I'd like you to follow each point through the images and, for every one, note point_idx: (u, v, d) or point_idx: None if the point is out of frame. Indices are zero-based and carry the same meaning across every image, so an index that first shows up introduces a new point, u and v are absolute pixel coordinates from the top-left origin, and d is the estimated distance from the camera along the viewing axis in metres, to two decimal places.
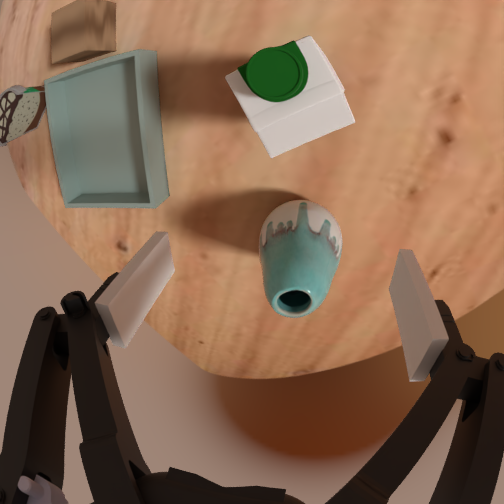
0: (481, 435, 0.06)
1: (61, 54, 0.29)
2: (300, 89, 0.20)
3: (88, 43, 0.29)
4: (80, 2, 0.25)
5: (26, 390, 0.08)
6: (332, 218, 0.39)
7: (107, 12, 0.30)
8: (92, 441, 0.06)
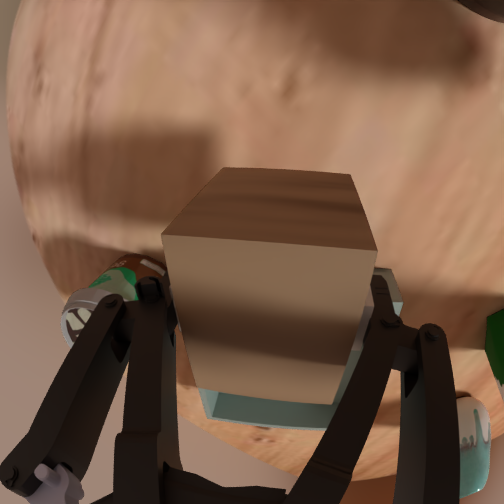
0: (428, 410, 0.07)
1: (238, 386, 0.14)
2: None
3: None
4: (346, 267, 0.09)
5: (70, 378, 0.08)
6: (488, 415, 0.31)
7: None
8: (131, 434, 0.07)
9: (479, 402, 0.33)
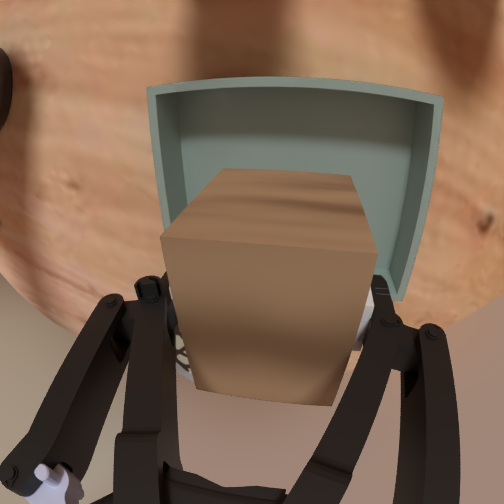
0: (428, 410, 0.07)
1: (238, 388, 0.14)
2: None
3: None
4: (346, 270, 0.09)
5: (70, 378, 0.08)
6: None
7: None
8: (131, 435, 0.07)
9: None
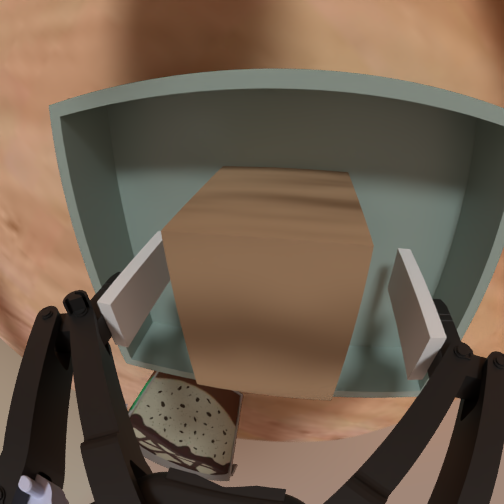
0: (479, 434, 0.06)
1: (238, 382, 0.14)
2: None
3: None
4: (342, 262, 0.09)
5: (27, 389, 0.08)
6: None
7: None
8: (93, 441, 0.06)
9: None
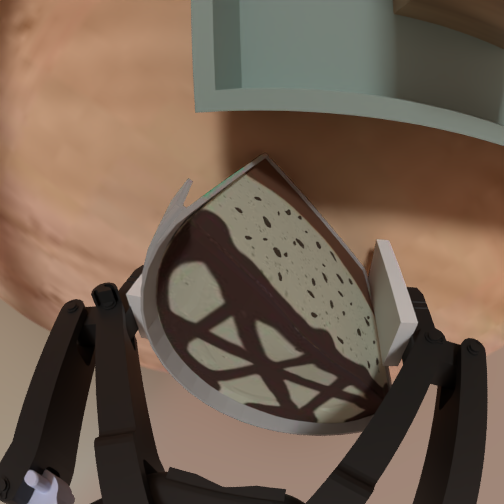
0: (460, 422, 0.06)
1: None
2: None
3: None
4: None
5: (44, 383, 0.08)
6: None
7: None
8: (108, 437, 0.06)
9: None
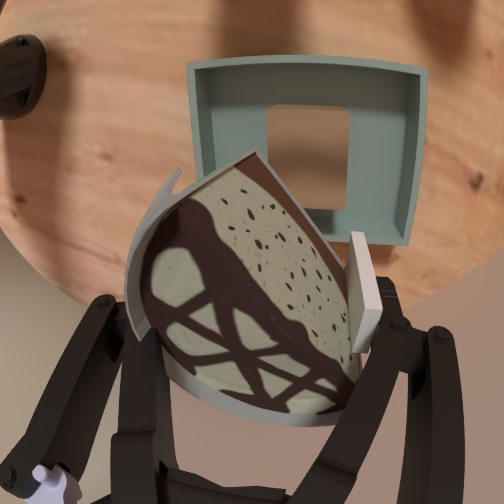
0: (435, 412, 0.07)
1: None
2: None
3: None
4: (338, 119, 0.23)
5: (65, 379, 0.08)
6: None
7: None
8: (126, 435, 0.07)
9: None
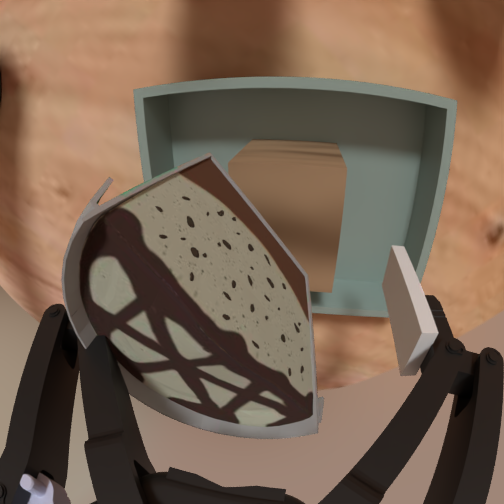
0: (474, 430, 0.06)
1: None
2: None
3: None
4: (330, 178, 0.17)
5: (32, 387, 0.08)
6: None
7: None
8: (97, 439, 0.06)
9: None
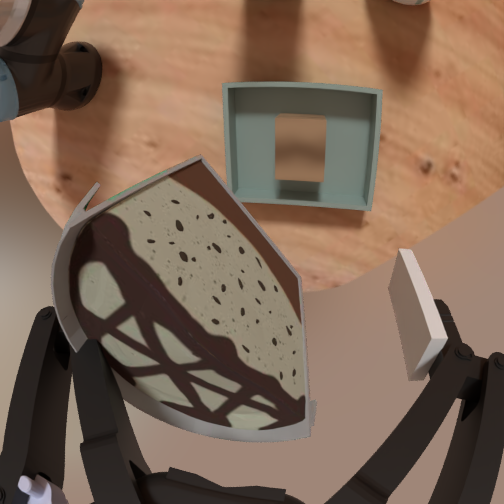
0: (480, 434, 0.06)
1: (291, 174, 0.42)
2: None
3: None
4: (319, 125, 0.38)
5: (26, 389, 0.08)
6: None
7: None
8: (93, 441, 0.06)
9: None
